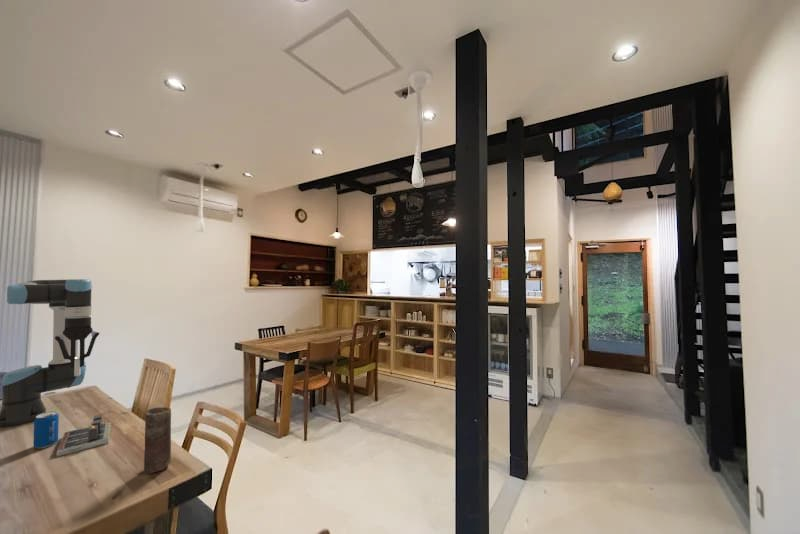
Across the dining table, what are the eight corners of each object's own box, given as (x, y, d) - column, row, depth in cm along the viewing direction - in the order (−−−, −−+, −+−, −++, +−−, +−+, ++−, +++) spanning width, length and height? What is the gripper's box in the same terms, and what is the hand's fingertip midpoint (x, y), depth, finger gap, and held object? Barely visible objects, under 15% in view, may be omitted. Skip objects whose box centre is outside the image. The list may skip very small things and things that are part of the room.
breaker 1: (94, 425, 135) (94, 415, 135) (101, 423, 136) (102, 414, 136) (93, 428, 132) (93, 418, 132) (101, 426, 134) (101, 417, 134)
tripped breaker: (89, 436, 125) (89, 426, 125) (97, 434, 127) (97, 424, 127) (88, 440, 123) (88, 429, 123) (96, 438, 124) (97, 427, 124)
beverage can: (41, 450, 120) (42, 418, 121) (28, 448, 122) (29, 417, 122) (62, 441, 127) (63, 411, 127) (50, 440, 128) (51, 410, 128)
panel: (64, 437, 130) (64, 432, 130) (110, 426, 139) (110, 421, 139) (56, 456, 116) (56, 450, 116) (108, 443, 125) (108, 437, 125)
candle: (154, 461, 113) (154, 405, 113) (175, 460, 113) (176, 404, 114) (138, 475, 105) (139, 415, 106) (161, 474, 106) (162, 414, 106)
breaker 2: (92, 430, 130) (93, 420, 130) (100, 428, 132) (101, 419, 132) (92, 434, 128) (92, 424, 128) (100, 432, 129) (100, 422, 129)
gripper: (52, 319, 121) (51, 381, 121) (99, 316, 130) (98, 374, 129) (56, 317, 127) (55, 376, 126) (100, 314, 135) (100, 369, 135)
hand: (77, 375), depth 128 cm, fingers closed
